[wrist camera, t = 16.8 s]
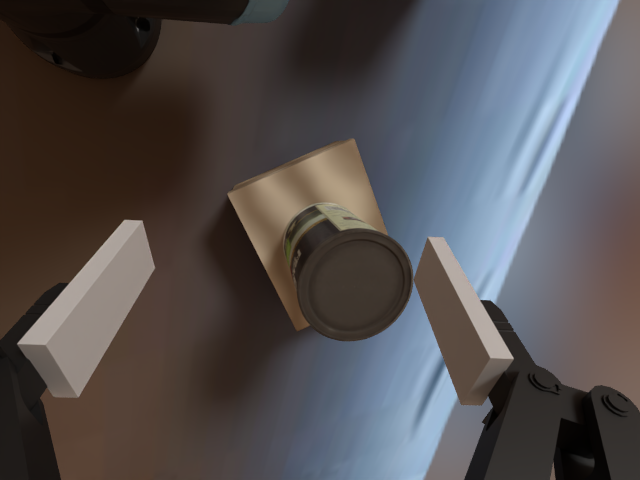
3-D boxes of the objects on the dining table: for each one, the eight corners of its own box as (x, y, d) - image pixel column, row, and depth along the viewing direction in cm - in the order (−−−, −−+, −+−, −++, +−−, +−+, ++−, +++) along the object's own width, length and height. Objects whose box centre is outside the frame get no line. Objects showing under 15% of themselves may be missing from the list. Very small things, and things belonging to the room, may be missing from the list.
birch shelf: (291, 307, 51) (297, 331, 44) (231, 187, 44) (227, 194, 37) (384, 263, 52) (404, 280, 45) (339, 139, 45) (354, 138, 39)
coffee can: (292, 289, 42) (310, 355, 29) (274, 212, 39) (285, 246, 26) (368, 270, 44) (419, 324, 30) (356, 193, 40) (407, 216, 27)
